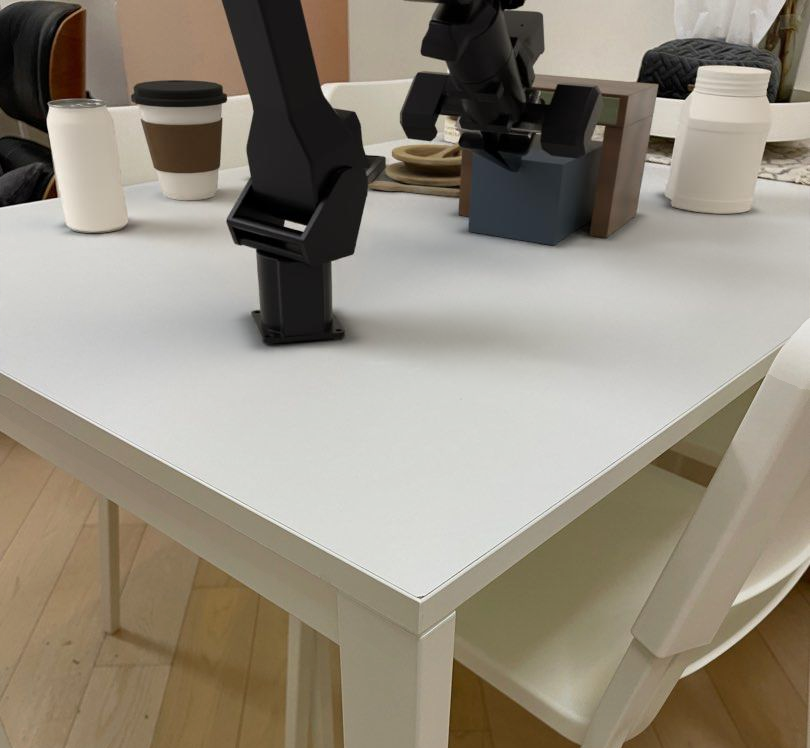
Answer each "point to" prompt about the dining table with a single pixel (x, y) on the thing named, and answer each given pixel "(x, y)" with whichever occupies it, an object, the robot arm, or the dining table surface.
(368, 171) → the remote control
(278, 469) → the dining table surface
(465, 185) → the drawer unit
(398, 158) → the tableware set
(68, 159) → the can
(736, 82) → the jar
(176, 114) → the coffee cup
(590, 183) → the storage box
